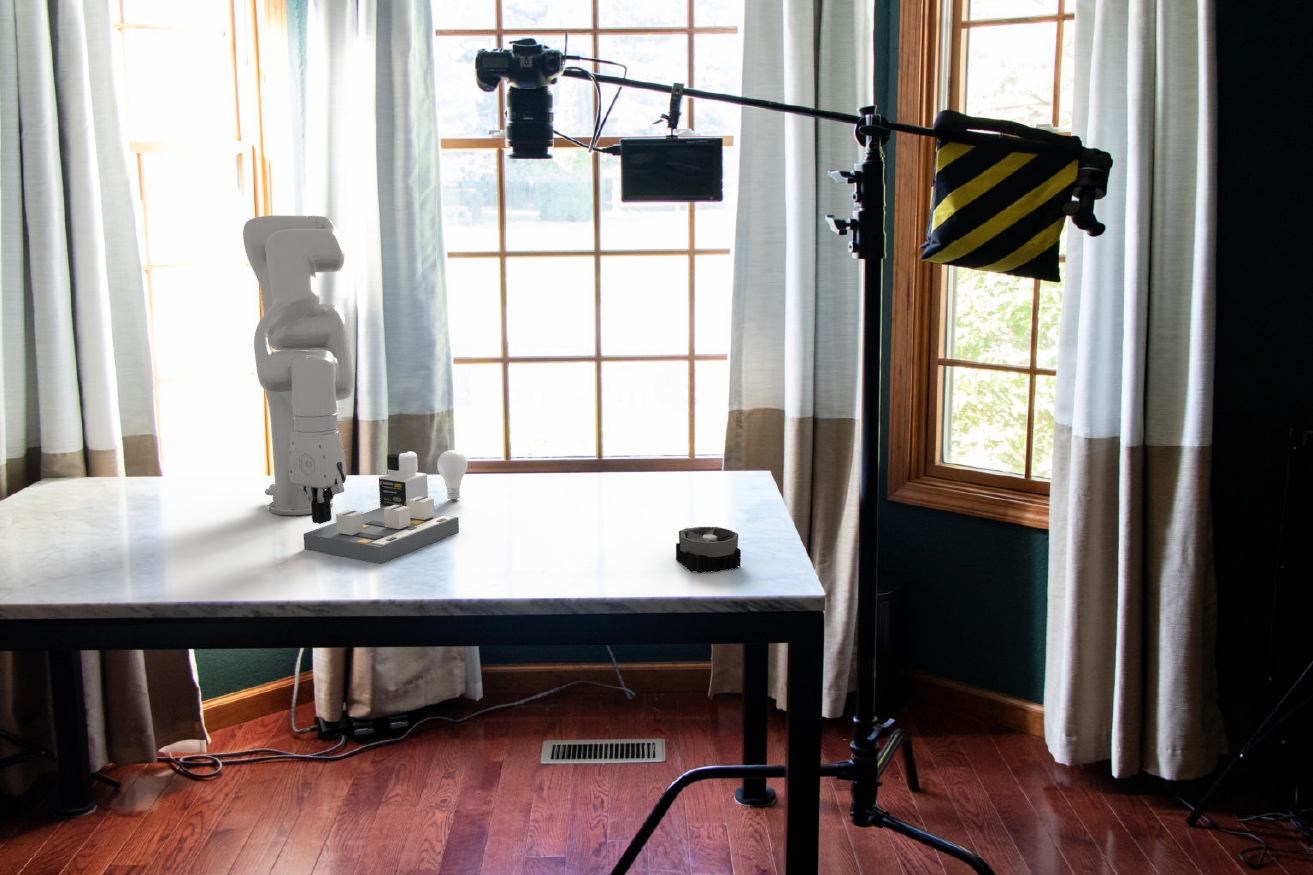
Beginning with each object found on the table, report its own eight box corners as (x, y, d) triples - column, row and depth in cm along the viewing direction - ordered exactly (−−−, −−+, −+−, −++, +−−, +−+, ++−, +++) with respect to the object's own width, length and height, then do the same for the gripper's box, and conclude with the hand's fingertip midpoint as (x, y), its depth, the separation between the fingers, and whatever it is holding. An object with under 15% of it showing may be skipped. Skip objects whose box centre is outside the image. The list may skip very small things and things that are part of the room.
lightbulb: (465, 504, 228) (463, 453, 226) (435, 504, 228) (433, 453, 226) (471, 496, 234) (469, 447, 232) (442, 496, 234) (440, 447, 232)
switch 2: (384, 526, 199) (383, 507, 198) (395, 522, 202) (394, 504, 201) (399, 529, 198) (398, 510, 197) (410, 525, 200) (409, 506, 199)
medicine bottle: (379, 510, 223) (376, 453, 221) (402, 502, 229) (400, 447, 227) (406, 514, 220) (403, 457, 218) (429, 506, 226) (426, 450, 224)
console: (304, 549, 196) (303, 531, 196) (386, 520, 215) (385, 504, 215) (380, 563, 188) (380, 545, 188) (459, 532, 207) (458, 515, 207)
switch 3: (409, 517, 205) (408, 499, 204) (420, 514, 208) (419, 495, 207) (424, 520, 204) (423, 501, 203) (434, 516, 206) (433, 497, 206)
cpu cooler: (747, 538, 184) (692, 544, 181) (746, 570, 186) (692, 576, 182) (723, 522, 194) (670, 528, 191) (722, 553, 195) (670, 559, 192)
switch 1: (337, 532, 195) (336, 513, 195) (348, 528, 198) (347, 509, 197) (351, 535, 194) (350, 515, 193) (363, 531, 196) (362, 511, 196)
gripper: (270, 423, 195) (276, 521, 199) (331, 430, 188) (337, 532, 192) (301, 417, 202) (307, 512, 205) (362, 423, 195) (367, 522, 198)
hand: (322, 521), depth 199 cm, fingers closed
